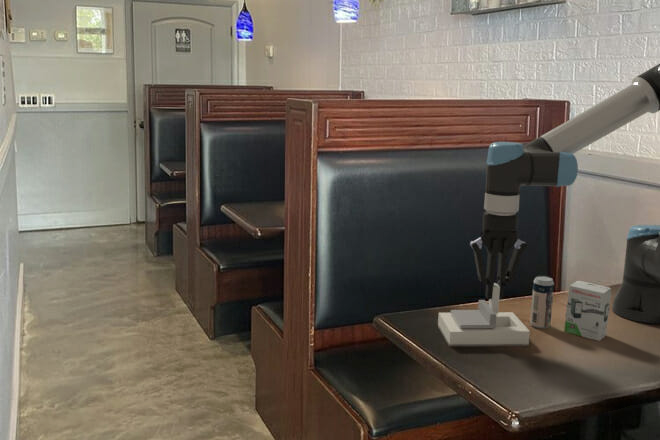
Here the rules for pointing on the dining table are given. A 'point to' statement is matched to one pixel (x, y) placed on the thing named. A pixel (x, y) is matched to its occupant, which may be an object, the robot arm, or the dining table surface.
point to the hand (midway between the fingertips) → (493, 311)
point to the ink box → (587, 310)
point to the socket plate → (485, 332)
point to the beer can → (542, 302)
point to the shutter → (476, 317)
